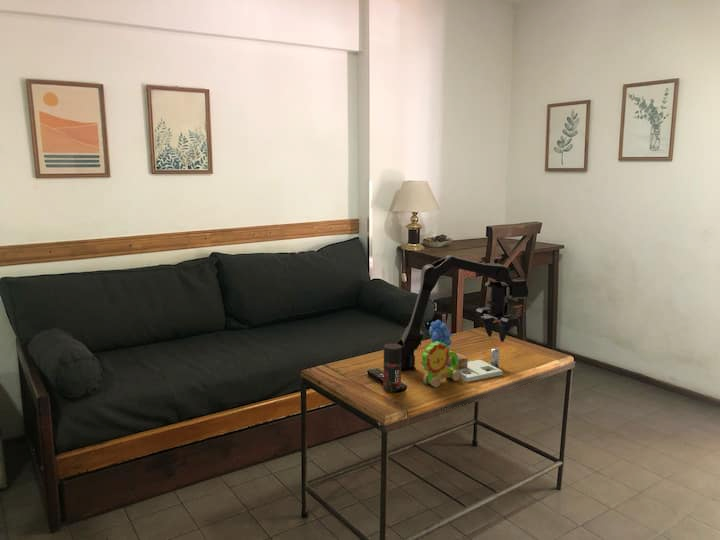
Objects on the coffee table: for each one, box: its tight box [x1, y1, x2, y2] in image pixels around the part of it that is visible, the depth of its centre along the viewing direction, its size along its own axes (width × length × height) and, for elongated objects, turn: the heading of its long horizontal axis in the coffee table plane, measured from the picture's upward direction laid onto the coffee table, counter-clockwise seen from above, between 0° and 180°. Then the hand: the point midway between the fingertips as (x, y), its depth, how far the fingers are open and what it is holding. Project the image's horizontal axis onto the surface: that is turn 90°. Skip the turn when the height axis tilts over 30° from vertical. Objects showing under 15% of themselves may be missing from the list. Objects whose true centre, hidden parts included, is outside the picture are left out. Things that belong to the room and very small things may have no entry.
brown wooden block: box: [446, 352, 469, 369], centre depth 214 cm, size 6×6×4 cm
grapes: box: [428, 319, 452, 348], centre depth 238 cm, size 12×7×12 cm, turn 40°
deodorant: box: [382, 343, 402, 392], centre depth 197 cm, size 6×6×15 cm
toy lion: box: [421, 341, 461, 388], centre depth 202 cm, size 16×5×15 cm, turn 126°
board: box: [447, 359, 504, 383], centre depth 213 cm, size 16×13×2 cm
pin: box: [489, 347, 500, 369], centre depth 218 cm, size 3×3×7 cm
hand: (495, 339), depth 217 cm, fingers open, 7 cm apart
